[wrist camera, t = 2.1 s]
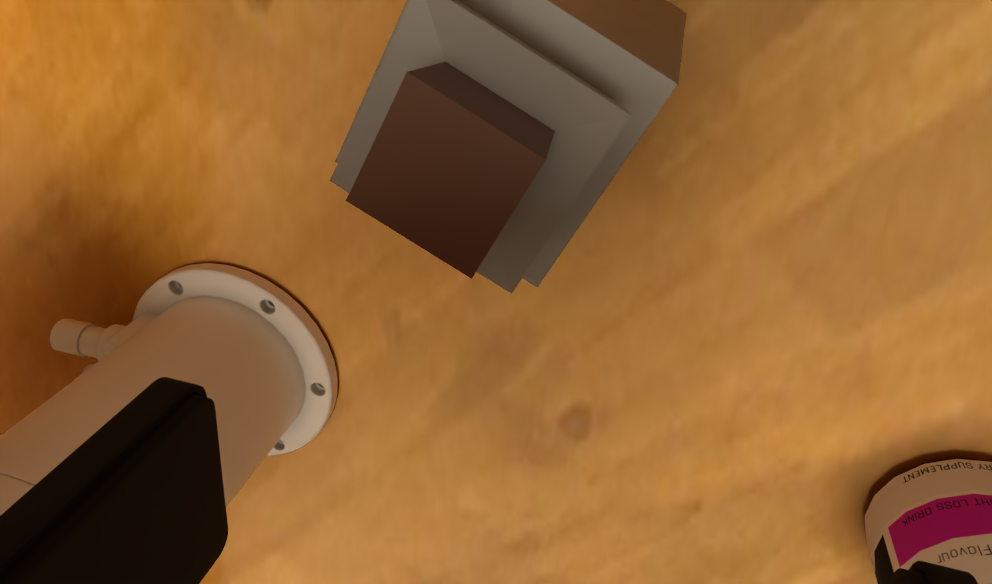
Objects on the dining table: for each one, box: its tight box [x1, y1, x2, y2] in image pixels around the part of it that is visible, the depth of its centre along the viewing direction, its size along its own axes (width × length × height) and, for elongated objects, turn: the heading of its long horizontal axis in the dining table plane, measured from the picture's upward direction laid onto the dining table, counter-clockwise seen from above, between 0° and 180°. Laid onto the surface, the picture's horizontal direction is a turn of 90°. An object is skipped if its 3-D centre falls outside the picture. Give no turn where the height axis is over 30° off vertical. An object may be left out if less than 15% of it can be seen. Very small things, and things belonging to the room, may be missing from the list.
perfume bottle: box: [330, 0, 686, 293], centre depth 23 cm, size 7×7×18 cm
